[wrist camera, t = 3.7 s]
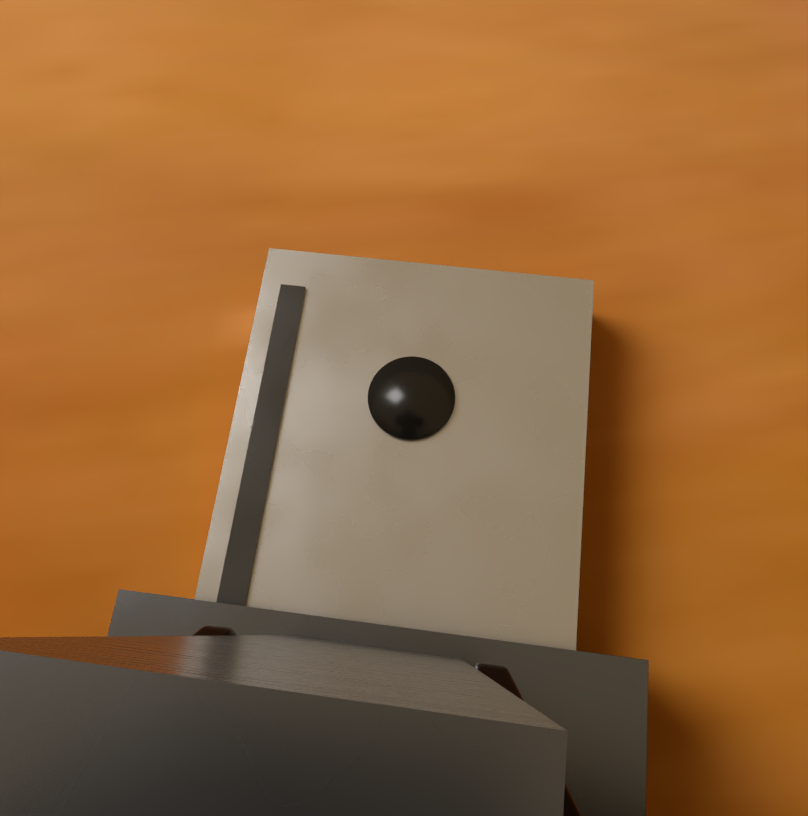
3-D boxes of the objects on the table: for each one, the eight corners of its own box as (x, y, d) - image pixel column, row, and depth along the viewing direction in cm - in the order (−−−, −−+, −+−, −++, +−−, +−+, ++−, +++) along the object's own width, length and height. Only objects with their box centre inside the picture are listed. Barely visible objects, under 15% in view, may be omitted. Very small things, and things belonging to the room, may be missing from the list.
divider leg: (617, 876, 13) (1784, 2345, 2) (105, 797, 14) (-1317, 1531, 3) (623, 657, 14) (1359, 745, 3) (152, 594, 15) (-670, 476, 4)
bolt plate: (519, 1424, 12) (574, 1877, 7) (66, 1330, 12) (-126, 1704, 8) (580, 308, 18) (629, 207, 14) (281, 277, 19) (238, 171, 14)
